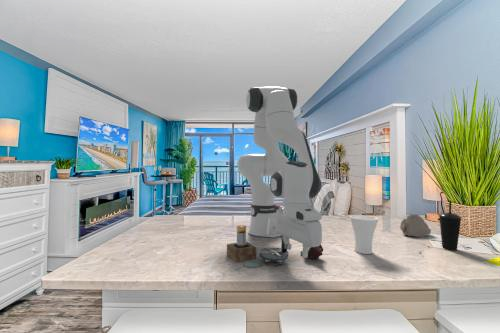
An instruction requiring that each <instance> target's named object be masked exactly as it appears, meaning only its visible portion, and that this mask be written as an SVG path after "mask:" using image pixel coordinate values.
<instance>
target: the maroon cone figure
mask: <svg viewBox="0 0 500 333" xmlns="http://www.w3.org/2000/svg"><path fill="white" fill-rule="evenodd" d="M303 248H304V247H303V246H302V249H303ZM323 252H324V248H323V246H322V243H321V244H320V245H319V246H316V247H311V248H310V249H309V251H308V257H307V258H308V259H310V260H317V259H319V258H320V257H321V256H323Z"/></svg>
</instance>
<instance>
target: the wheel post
mask: <svg viewBox="0 0 500 333" xmlns="http://www.w3.org/2000/svg"><path fill="white" fill-rule="evenodd" d="M283 261H284V260H280V261H271V260H266V259H264V262H265V263H266V264H267V265H270V266H279V265H282V264H283V263H284V262H283Z"/></svg>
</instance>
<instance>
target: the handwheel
mask: <svg viewBox="0 0 500 333" xmlns="http://www.w3.org/2000/svg"><path fill="white" fill-rule="evenodd" d="M280 241H281V243H280V244H281V246H280V247H269V246H268V247H265V248H262V249H260V250H259V257H260V258H261V259H263V260H271V261H280V260H282V261H285V260H287V259H288V258H289V256H290V255H289V250H287V249H285V243H284V241H283V235H282V236H281V240H280Z"/></svg>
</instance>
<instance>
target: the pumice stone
mask: <svg viewBox="0 0 500 333" xmlns="http://www.w3.org/2000/svg"><path fill="white" fill-rule="evenodd" d="M399 225H400V226H399V229H400V230H401V232H402V234H403V235H404V236H408V237H417V238H423V237H425V236H428V235H431V233H432V230H431V228H430V227H429V225H428V224H427V223H426V222H425V220H424V218H423V217H422V216H419V215H418V214H413V213H411V214H410V215H407V216H406V218H403V219H402V220H401V222H400V224H399Z"/></svg>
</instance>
